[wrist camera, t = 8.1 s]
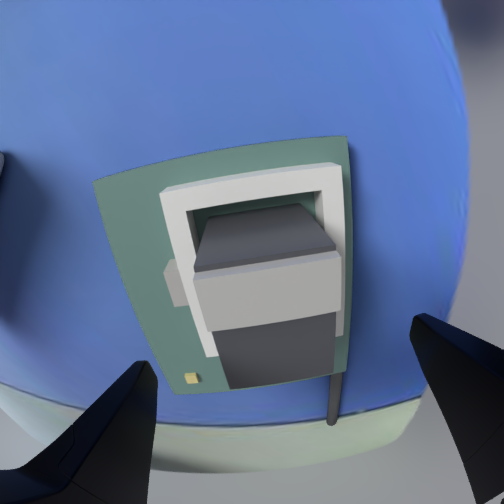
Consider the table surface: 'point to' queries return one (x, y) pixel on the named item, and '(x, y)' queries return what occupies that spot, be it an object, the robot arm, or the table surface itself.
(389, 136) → the table surface
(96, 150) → the table surface
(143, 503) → the robot arm
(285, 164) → the header board
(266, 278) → the plug
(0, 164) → the digital clock
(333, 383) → the lead
